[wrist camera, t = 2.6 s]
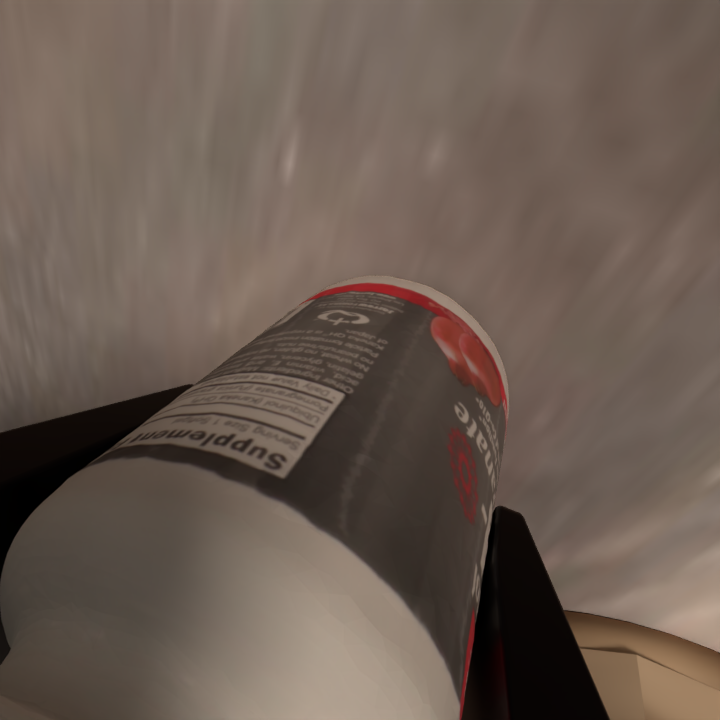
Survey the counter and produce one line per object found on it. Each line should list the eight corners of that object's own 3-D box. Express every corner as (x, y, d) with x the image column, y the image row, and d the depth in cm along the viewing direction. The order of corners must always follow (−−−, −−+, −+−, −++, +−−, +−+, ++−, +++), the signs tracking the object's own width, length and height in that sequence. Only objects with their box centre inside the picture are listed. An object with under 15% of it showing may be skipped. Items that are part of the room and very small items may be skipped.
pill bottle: (533, 473, 11) (459, 1548, 3) (328, 479, 13) (-39, 1072, 5) (483, 240, 9) (-187, 1431, 1) (254, 294, 11) (-505, 764, 3)
